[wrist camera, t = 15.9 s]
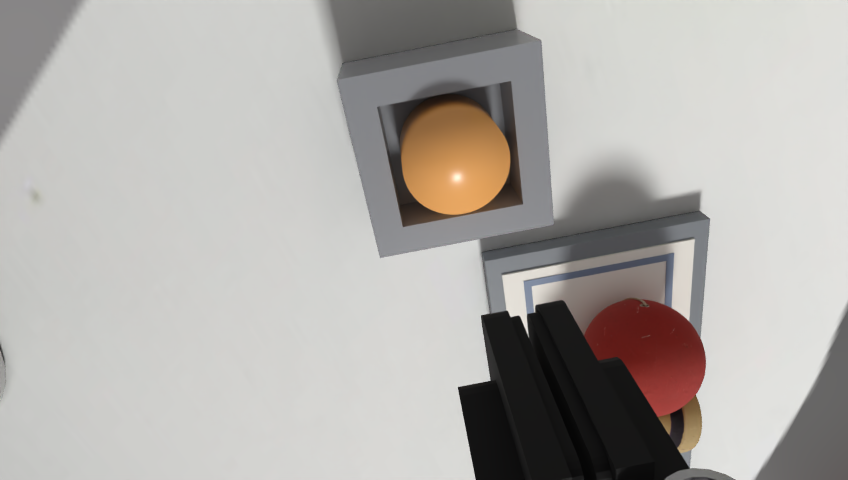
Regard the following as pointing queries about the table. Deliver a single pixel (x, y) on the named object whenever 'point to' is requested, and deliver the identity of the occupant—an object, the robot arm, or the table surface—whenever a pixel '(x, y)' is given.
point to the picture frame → (605, 271)
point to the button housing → (462, 75)
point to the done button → (453, 155)
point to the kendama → (656, 360)
